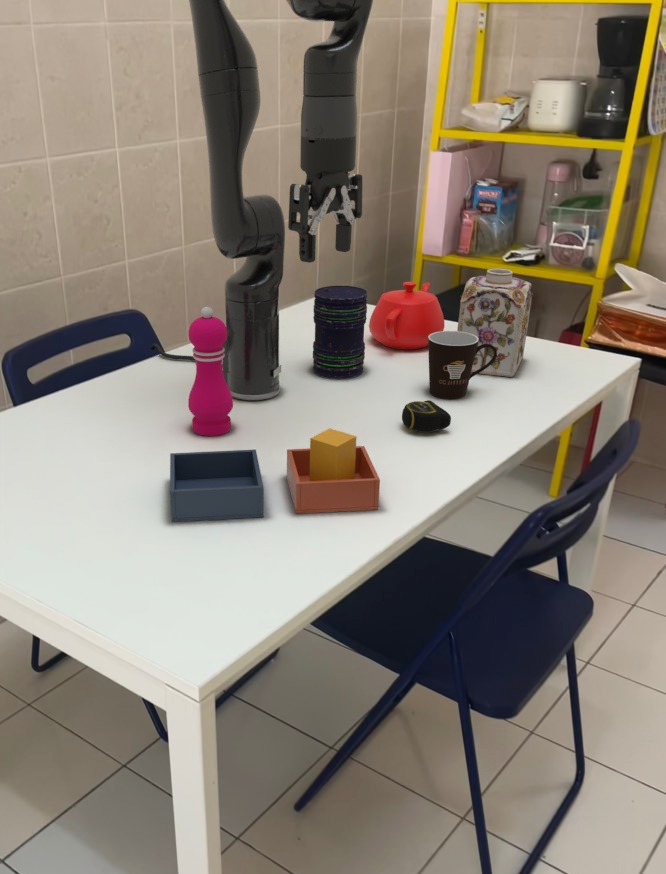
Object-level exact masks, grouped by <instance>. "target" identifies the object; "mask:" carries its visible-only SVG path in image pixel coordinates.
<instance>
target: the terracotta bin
mask: <svg viewBox="0 0 666 874" xmlns="http://www.w3.org/2000/svg"><path fill="white" fill-rule="evenodd" d="M286 480H287V484H288V488H289V492H290V495H291V500H292V504H293V507H294V511H295V514H296V515H297V514H315V513H318V514H319V513H336V512H355V511H358V512H359V511H378V510H379V502H380V487H381V486H380V485H381V479H380V477H379V475H378V473H377V471H376V467H375V466H374V464H373V462H372V460H371V457H370V456H369V453H368V451H367V449H366V447H365V445H356V456H355V477H354V479H348V480H327V481H310V447H309V448H290V449H289V448H288V449H286Z"/></svg>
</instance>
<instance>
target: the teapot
mask: <svg viewBox="0 0 666 874" xmlns="http://www.w3.org/2000/svg"><path fill="white" fill-rule="evenodd" d="M402 285H403V287H404V288H405V289H397V290H390V291H386V292H384V293H382V294H381V296H380V298H379V300H378V301H377V303H376V305H375V307H374V308H373V311H372V313H371V316H370V318H369V323H368V329H369V332H370V334H371V335H372V337H373V338H374V339H375V340H376V341H377V342H378V343H380V344H382V345H384V346H385V347H387V348H391V349H397V350H419V349H424V348H427V347H428V336H429V335H430V334H432V333H435V332H440V331H445V328H446V327H445V317H444V313H443V310H442V307H441V304H440V302H439V300H438V297H437V296H436V295H435V294H434V293H431V292H429V291H430V285H431V283H430V282H429V281H428V282H424V283H423V284H422V286H421V289H420V290H417V289H415V288H416V287H417V282H414V281H404V282H403V283H402Z"/></svg>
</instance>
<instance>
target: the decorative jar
mask: <svg viewBox="0 0 666 874" xmlns="http://www.w3.org/2000/svg"><path fill="white" fill-rule="evenodd" d="M513 273H514V272H513V271H512V270H511V269H506V268H489V269H487V270H486V275H478V276H473V277H470V278H469V279H468V280H467V281H466V283H465V286H464V289H463V292H462V295H461V299H460V300H459V303H460V305H459V315H458V321H457V329H456V331H459V332H466V333H470V334H473V335H475V336H477V337H478V339H479V341H478V345H477V347H478V346H480V345H483V344H491V345H493V346H494V347H495V348H496V350H497V357H496V359H495V360H494V362H493V363H492V364H491V365H490V366H488V367H487V368H486V369H484V370H483V371H481V372H480V373H479V374H481V375H490V376H498V377H507V378H513V377H514V376H515V375H516V373H517V371H518V369H519V367H520V365H521V363H522V360H523V358H524V352H525V346H526V340H527V333H528V326H529V321H530V314H531V307H532V298H533V295H534V293H533V291H534V290H533V286H532V283H531V282H529V281H526V280H525V279H521V278H518V277H513ZM493 355H494V352H493V350H492V349H491V348H489V347H485V348H482V349H481V350H479V351H478V353H477V354H476V356H475V358H474V362H473V366H472V370H471V373H473V372H475V371H476V370H478V369H480V368H481V367H483V366H485V365H486V364H487V363H488V362H489V361H490V360H491V359H492V358H493Z"/></svg>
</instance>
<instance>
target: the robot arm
mask: <svg viewBox="0 0 666 874" xmlns="http://www.w3.org/2000/svg"><path fill="white" fill-rule="evenodd" d="M285 1H286V3H287V4H288V6H289V7H290V9H291V11H292V12H293V14H295V15H296V16H297V17H298V18H301V19H303V20H305V21H310V22H333V24H332V28H331V30H330V33H329V36H328V38H327V39H326V40H324V41H321V42H319V43H315V44H312V45H310V46H309V47H308V48H306V50H305V51H304V56H303V67H302V68H303V70H302V72H303V74H302V75H303V76H302V77H303V78H302V79H303V82H302V83H303V85H302V89H303V90H302V93H303V94H302V95H303V96H302V105H301V112H300V163H299V165H300V169H301V171H303V172H305V175H306V177H305V182H304V184H302V183H291V184H290V185H289V199H288V200H289V201H288V222H287V223H288V224H287V225H288V226H287V227H288V230H289V231H291V232H296V233H297V234H298V240H299V241H298V252H299V253H298V256H299V259H300V261H301V262H302V263H314V262H315V261H316V248H317V247H316V243H317V240H316V238H317V234H316V231H317V228H318V227H319V224H320V222H322V221H323V220H324V219H325V217H326V215H329V214H330V213H332V214H333V216H334V219H335V220H336V224H335V250H336V251H337V252H342V253H348V252H349V251H351V245H352V230H353V229H352V228H353V225H354V224H355V220H356V219H361V218H362V216H363V175H362V174H359V173H349V172H353V171H354V170H355V168H356V156H357V132H358V131H357V129H358V128H357V127H358V107H357V84H358V83H357V81H358V62H359V61H358V60H359V56H360V52H361V48H362V45H363V41H364V37H365V34H366V30H367V25H368V22H369V18H370V16H371V12H372V8H373V4H374V0H285ZM188 2H189V8H190V9H189V10H190V16H191V22H192V30H193V38H194V44H195V53H196V66H197V76H198V86H199V92H200V100H201V107H202V112H203V120H204V128H205V136H206V137H205V138H206V146H207V157H208V170H209V172H208V173H209V193H210V194H209V196H210V219H211V228H212V235H213V239H214V242H215V245H216V247H217V249H218V251H219V253H220V254H221V255H222V256H223V257H225V258H226V259H230V260H235V259H236V260H237V259H242V258H245V260H244V262H243V264H241V266H240V267H239V268H238V269H237V270H236V271H235V272H234V273H232V274H231V275H230V276H228V277H227V278H226V280H225V283H224V302H225V303H224V304H225V305H224V306H225V326H226V329H227V339H226V341H225V343H224V344H223V346H222V347H224V349H225V350H224V354H225V357H224V358H223V359H222V370H223V375H224V378H225V381H226V383H227V385H228V387H229V389H230V392H231V395H232V398H234V399H238V400H242V401H243V400H244V401H262V400H269V399H271V398H274V397H276V396H277V395H279V394H280V389H281V388H280V386H281V385H280V373H282V364H280V286H281V284H282V280H283V278H284V265H285V264H284V262H285V247H286V246H285V245H286V244H285V243H286V221H285V215H284V212H283V209H282V206H281V205H280V203H279V202H278V199H276V198H275V197H273V196H272V195H270V194H255V195H248V196H244V189H243V165H244V159H245V154H246V151H247V149H248V148H247V147H248V145H249V142H250V140H251V137H252V135H253V132H254V129H255V126H256V123H257V120H258V117H259V114H260V109H261V90H260V89H261V88H260V80H259V69H258V62H257V56H256V53H255V50H254V48H253V46H252V43H251V42H250V40H249V38H248V37H247V35H246V33H245V32H244V30H243V29H242V27H241V26H240V24H239V22H238V21H237V19H236V18H235V17H234V15H233V14H232V12H231V10H230V8H229V6H228V5H227V3H226V1H225V0H188ZM352 201H353V202H354V208H353V203H352ZM311 209H312V210H311ZM298 213H299V220H298V219H297V218H298ZM309 220H310V223H309ZM149 349H150V350H153V351H154V350H156V351H157V352H158V353H159V355H161V356H162V357H164V358H167V359H171V360H181V361H194V362H196V359H194V358H193V355H181V354H172V353H171V354H170V353H167V352H165V351H164V350H163V349H162V348H161V347H160V345H159V344H158V343H153V344H151V346H150V347H149Z"/></svg>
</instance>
